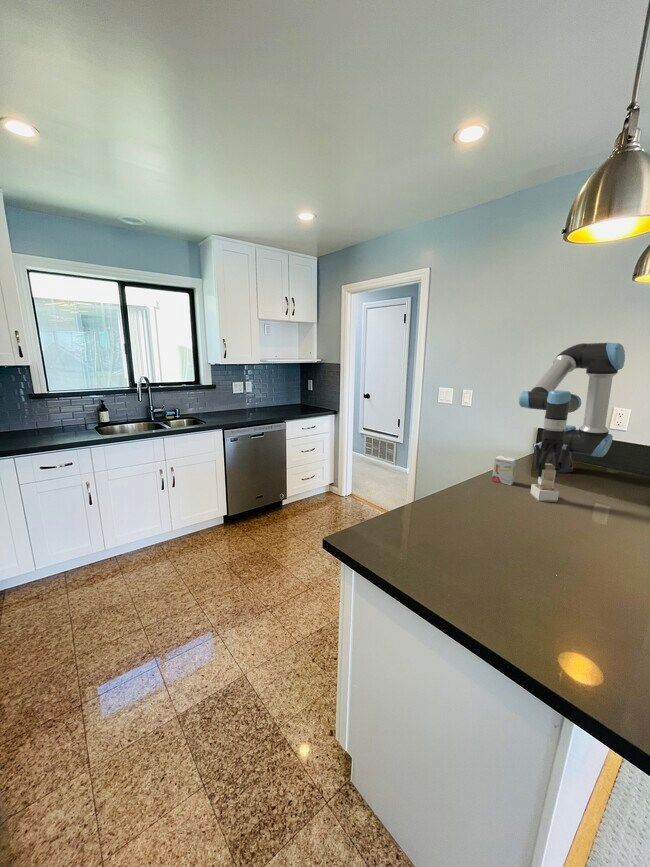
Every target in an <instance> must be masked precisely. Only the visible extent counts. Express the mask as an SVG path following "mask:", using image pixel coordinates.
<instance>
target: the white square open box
mask: <svg viewBox="0 0 650 867" xmlns="http://www.w3.org/2000/svg"><path fill="white" fill-rule="evenodd" d="M538 487H539V484H538V483H537V484H536V483H535V484H534V483H531V486H530V494H529V495H531V496H532V497H533V498H534V499H535V500H536V501H538V502H551V503H552V502H553V503H558V499H559V495H560V491H559V490H558V489H556V488H555V487H554V486H552V491H548V490H540V489H539V488H538Z"/></svg>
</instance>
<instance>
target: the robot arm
mask: <svg viewBox="0 0 650 867" xmlns="http://www.w3.org/2000/svg"><path fill="white" fill-rule="evenodd" d="M625 353H626V352H625V348H624V346H623V344H621V343H619V342H598V343H597V342H594V343H592V342H591V343H590V342H589V343H578V344H575V345H572V346H570V347H567V348H566V349H565V350H563V351H561V352H560V353H558V354H557V355H556V357H555V358H554V360H553V361H552V364H551V366H550V368H548V370H547V371H546V372H545V373H544V374H543V376H542V377H541V378H540V379H539V381H537V382H536V384H535V385H534V386H533V388H532V389H531V390H530V391H529V390H523V391H521V392H520V395H519V397H518V404H519V406H520V407H521V408H525V409H531V410H541V411H545V412H544V414H545V415H544V419H543V420H544V421H543V429H542V434H541V439H540V441H539V442H538V443H533V444H532V447H533V450H534V451H533V462H532V466H533V467H534V468H536V469H537V471H536V476H537V477H538V478H537V484H538V485H539V484H540V485H543V480H544V473H545V470H544V469H543V468H544V465H545V464H552V465H554V466H555V472H554V478H553V484H552V487H554V485H555V479H556V478H558V473H563V474H564V473H565V474H566V473H572V472H573V471H574V464H573V460H572V453H576V454H581V455H585V456H590V457H597V458H598V457H599V458H603V457H605V455H606V454H607V453H608V451H609V450H610V447H611V445H612V442H613V437H614V436H613V434H611V433H610V429H609V428H608V427H607V426H606V424H607V418H608V417H607V416H608V411H609V404H610V397H611V391H612V383H613V378H614V376H616V375H617V374H618V372H619V371H620V370H623V368H624V366H625V362H626V354H625ZM575 369H585V370H586V371H585V374H586V375H587V376H588V378H589V379H588V387H587V392H586V393H587V394H586V400H585V401H586V402H585V409H584V418H583V422H582V423H583V424H582V425H580V426H579V427H578V429H577V427H576V426H575V425H567V423H568V415H569V413H573V412H576V411H577V410H579V409H580V407H581V406H582V400H581V398H580V396H579V395H577V394H573V393H571V392H570V391H568V390H556V389H557V388H558V386H559V385H560V384H561V383H562V381H563V380H564V379H565V377H566V376H567V375H568V374H569V373H571V372H572V371H574V370H575ZM541 449H542V450H541Z"/></svg>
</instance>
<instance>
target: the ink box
mask: <svg viewBox="0 0 650 867" xmlns="http://www.w3.org/2000/svg"><path fill="white" fill-rule="evenodd" d="M516 466H517V459H516V458H514V457H508V456H504V455H497V456H495V457H494V462H493V470H492V476H491V478H492V479H491V482H493V481H494V482H493V483H499V484H503V485H508V486H512V485H513V483H514V480H515V473H516Z"/></svg>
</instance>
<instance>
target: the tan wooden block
mask: <svg viewBox="0 0 650 867" xmlns="http://www.w3.org/2000/svg"><path fill="white" fill-rule="evenodd" d="M543 469H544V470H545V473H544V480H543V485H540V484H539V483H538V485H539V487H538V488H539V489H540V490H548V491H552V487H553V486H552V484H553V478H554V472H555V466H554V465H552V464H545V465H544V468H543Z"/></svg>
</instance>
